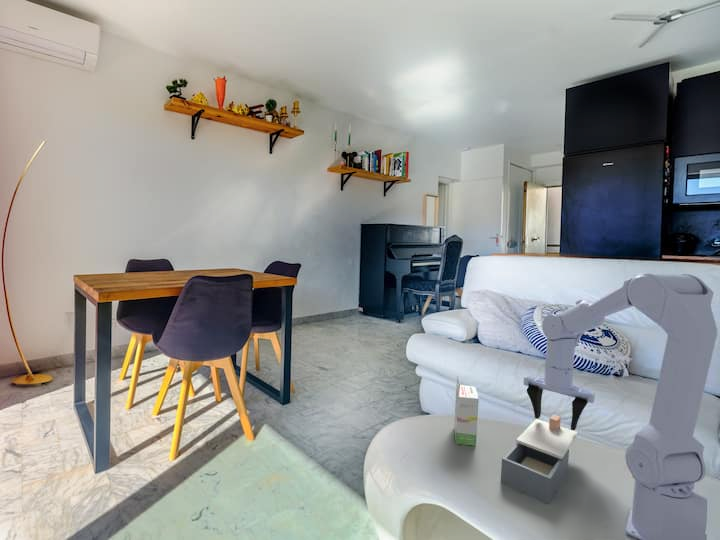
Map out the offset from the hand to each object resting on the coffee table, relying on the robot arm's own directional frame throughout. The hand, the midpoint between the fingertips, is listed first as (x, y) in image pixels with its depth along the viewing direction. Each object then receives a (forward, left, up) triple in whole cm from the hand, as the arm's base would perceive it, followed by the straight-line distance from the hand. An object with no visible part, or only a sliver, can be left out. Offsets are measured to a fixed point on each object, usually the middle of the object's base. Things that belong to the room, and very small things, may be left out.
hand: (555, 422), depth 86 cm
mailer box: (0, +13, -7) cm, 15 cm away
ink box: (+18, +9, -7) cm, 21 cm away
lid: (0, +5, -2) cm, 6 cm away
